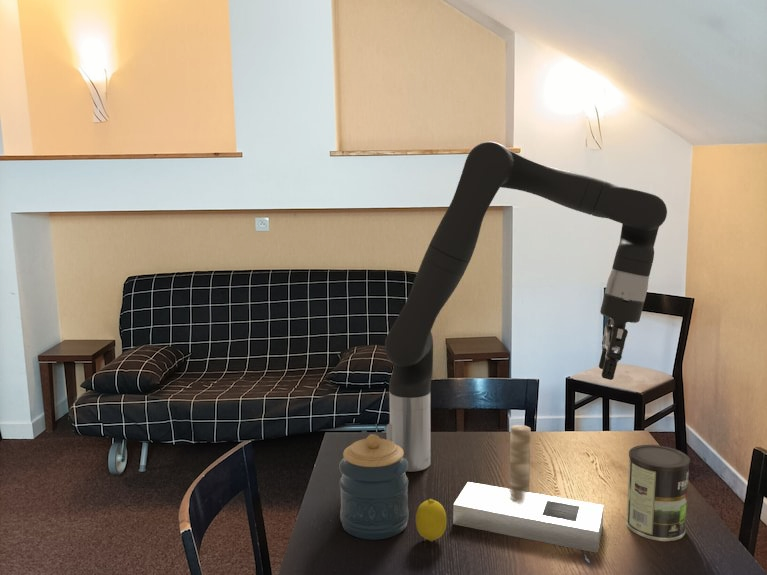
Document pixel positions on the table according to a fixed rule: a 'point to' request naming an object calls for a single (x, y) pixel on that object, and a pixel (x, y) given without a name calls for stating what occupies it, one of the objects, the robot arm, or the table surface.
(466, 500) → the block
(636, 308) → the robot arm
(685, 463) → the coffee can
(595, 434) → the table surface
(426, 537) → the lemon
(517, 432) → the peg
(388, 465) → the canister
